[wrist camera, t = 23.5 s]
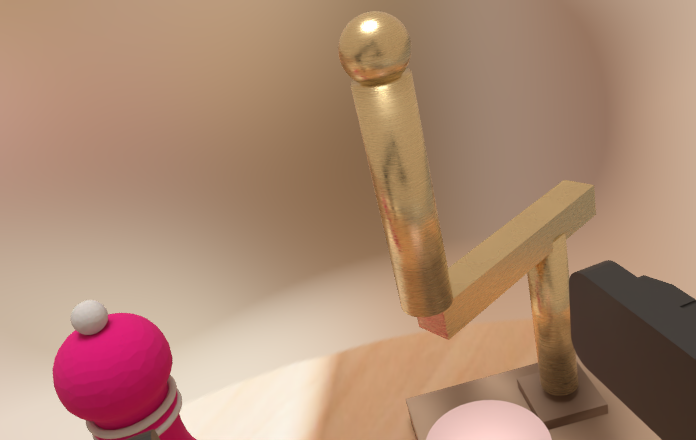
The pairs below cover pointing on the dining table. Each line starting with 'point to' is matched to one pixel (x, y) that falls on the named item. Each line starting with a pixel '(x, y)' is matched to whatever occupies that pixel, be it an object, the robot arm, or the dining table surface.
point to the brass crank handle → (423, 223)
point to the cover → (489, 423)
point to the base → (539, 405)
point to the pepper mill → (118, 376)
